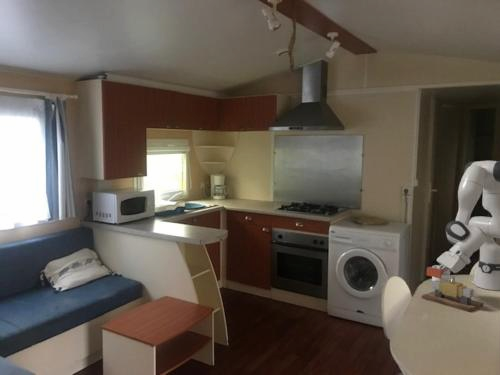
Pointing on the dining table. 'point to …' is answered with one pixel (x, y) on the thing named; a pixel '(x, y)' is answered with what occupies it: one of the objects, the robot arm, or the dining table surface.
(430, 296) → the board
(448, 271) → the cup
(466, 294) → the valve
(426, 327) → the dining table surface
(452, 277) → the lever
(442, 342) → the dining table surface
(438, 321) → the dining table surface
